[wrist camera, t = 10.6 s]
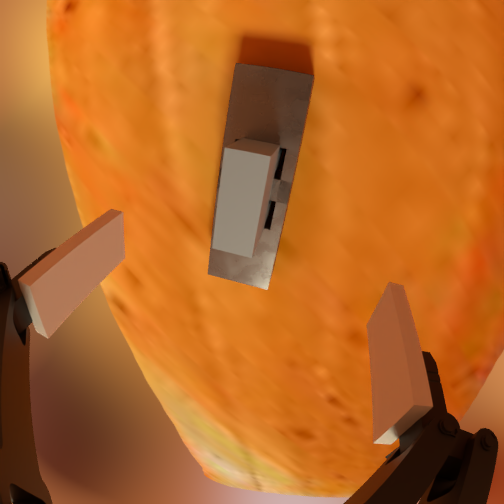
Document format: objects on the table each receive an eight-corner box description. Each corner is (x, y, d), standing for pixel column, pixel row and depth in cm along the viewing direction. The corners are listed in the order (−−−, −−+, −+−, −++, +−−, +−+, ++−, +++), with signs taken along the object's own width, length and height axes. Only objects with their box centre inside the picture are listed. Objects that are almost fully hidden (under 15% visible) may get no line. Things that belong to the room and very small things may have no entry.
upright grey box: (249, 134, 34) (224, 147, 25) (283, 141, 33) (270, 156, 25) (237, 211, 39) (212, 248, 30) (268, 218, 38) (251, 258, 30)
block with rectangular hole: (244, 66, 30) (235, 63, 27) (314, 78, 29) (314, 75, 26) (217, 259, 43) (207, 274, 40) (272, 273, 42) (267, 289, 39)
